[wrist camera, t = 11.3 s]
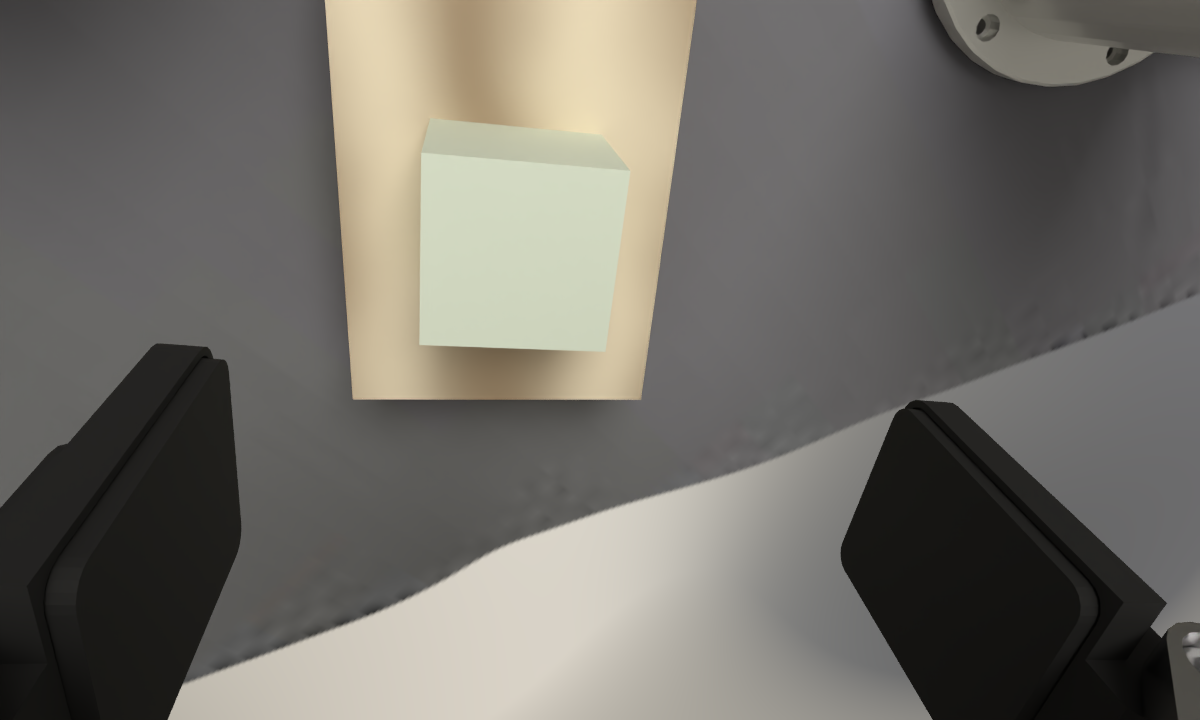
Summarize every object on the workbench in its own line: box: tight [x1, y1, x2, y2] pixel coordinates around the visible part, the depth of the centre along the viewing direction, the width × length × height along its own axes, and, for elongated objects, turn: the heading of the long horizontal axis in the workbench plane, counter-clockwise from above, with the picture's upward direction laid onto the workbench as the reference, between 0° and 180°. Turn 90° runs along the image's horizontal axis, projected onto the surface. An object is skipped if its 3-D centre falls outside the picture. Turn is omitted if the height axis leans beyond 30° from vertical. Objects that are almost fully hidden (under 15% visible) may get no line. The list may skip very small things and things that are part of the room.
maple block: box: [325, 0, 697, 400], centre depth 25 cm, size 10×14×5 cm
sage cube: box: [419, 118, 630, 352], centre depth 20 cm, size 5×5×4 cm
